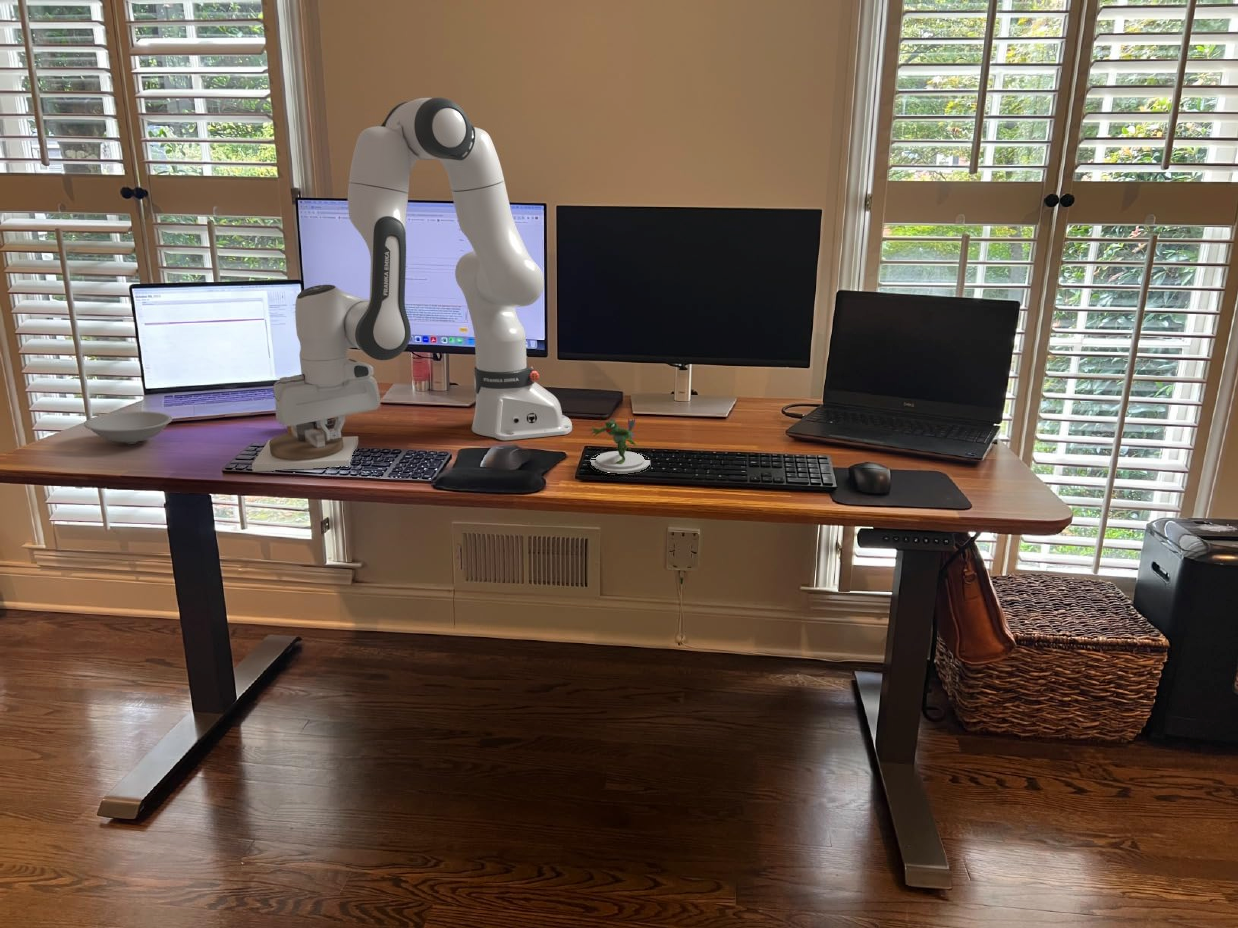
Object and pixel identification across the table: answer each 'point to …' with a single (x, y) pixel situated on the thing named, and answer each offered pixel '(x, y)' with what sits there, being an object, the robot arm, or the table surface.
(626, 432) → the monster figurine
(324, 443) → the dial
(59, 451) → the table surface
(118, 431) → the dish
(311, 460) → the dial base
